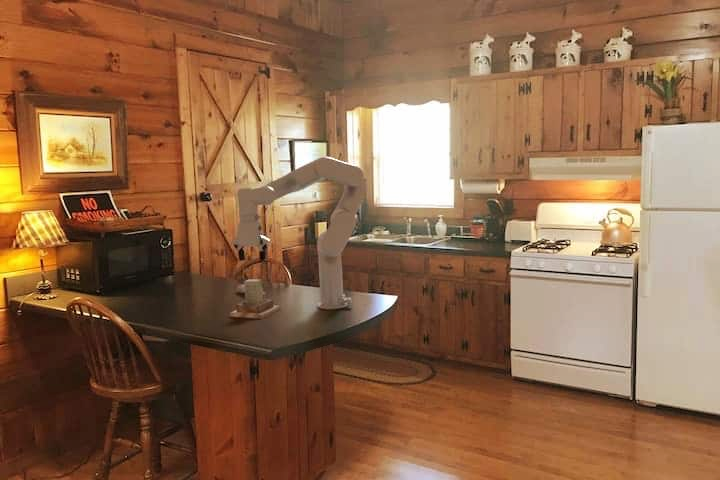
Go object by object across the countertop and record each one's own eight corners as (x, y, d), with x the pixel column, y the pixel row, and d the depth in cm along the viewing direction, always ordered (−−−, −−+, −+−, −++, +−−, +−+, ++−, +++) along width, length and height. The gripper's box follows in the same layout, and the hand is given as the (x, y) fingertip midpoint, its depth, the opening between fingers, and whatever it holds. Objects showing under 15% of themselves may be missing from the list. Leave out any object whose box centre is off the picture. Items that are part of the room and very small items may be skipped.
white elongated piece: (245, 283, 292) (265, 283, 271) (246, 297, 293) (267, 298, 272) (234, 285, 290) (255, 285, 269) (236, 298, 290) (257, 300, 269)
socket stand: (280, 309, 251) (279, 298, 251) (261, 318, 238) (261, 307, 237) (249, 307, 257) (249, 297, 257) (229, 316, 243) (228, 305, 243)
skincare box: (264, 308, 248) (262, 279, 247) (259, 311, 244) (257, 281, 243) (251, 307, 251) (249, 278, 249) (245, 310, 247) (243, 280, 245)
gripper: (272, 217, 243) (275, 259, 245) (236, 217, 249) (239, 258, 251) (262, 219, 236) (265, 262, 238) (225, 219, 242) (229, 261, 244)
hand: (252, 260), depth 245 cm, fingers open, 9 cm apart
